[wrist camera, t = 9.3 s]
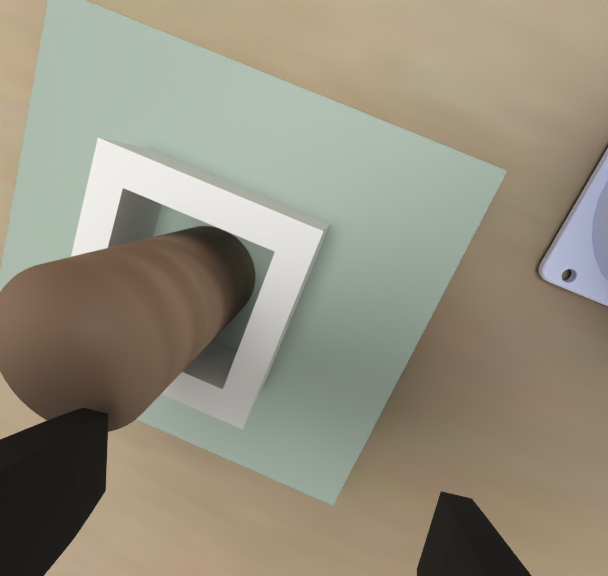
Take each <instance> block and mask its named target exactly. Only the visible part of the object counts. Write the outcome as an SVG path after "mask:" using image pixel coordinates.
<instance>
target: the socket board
mask: <svg viewBox="0 0 608 576" xmlns="http://www.w3.org/2000/svg"><path fill="white" fill-rule="evenodd" d="M506 173H507V171H506V170H504V169H501V168H499V167H496V166H494V165H491V164H489V163H487V162H484V161H482V160H479V159H477V158H474V157H472V156H469V155H467V154H464V153H462V152H459V151H457V150H454V149H452V148H449V147H447V146H444V145H442V144H439V143H437V142H434V141H432V140H430V139H427V138H425V137H422V136H420V135H417V134H415V133H412V132H410V131H407V130H405V129H402V128H400V127H397V126H395V125H392V124H390V123H387V122H385V121H382V120H380V119H378V118H375V117H373V116H370V115H368V114H365V113H363V112H360V111H358V110H355V109H353V108H350V107H348V106H345V105H343V104H340V103H338V102H335V101H333V100H330V99H328V98H326V97H323V96H321V95H318V94H316V93H313V92H311V91H308V90H306V89H303V88H301V87H298V86H296V85H293V84H291V83H288V82H286V81H283V80H281V79H278V78H276V77H274V76H271V75H269V74H266V73H264V72H261V71H259V70H256V69H254V68H251V67H249V66H246V65H244V64H241V63H239V62H236V61H234V60H231V59H229V58H226V57H224V56H221V55H219V54H217V53H214V52H212V51H209V50H207V49H204V48H202V47H199V46H197V45H194V44H192V43H189V42H187V41H184V40H182V39H179V38H177V37H174V36H172V35H169V34H167V33H165V32H162V31H160V30H157V29H155V28H152V27H150V26H147V25H145V24H142V23H140V22H137V21H135V20H132V19H130V18H127V17H125V16H122V15H120V14H117V13H115V12H113V11H110V10H108V9H105V8H103V7H100V6H98V5H95V4H93V3H90V2H88V1H85V0H48V2H47V7H46V13H45V19H44V25H43V30H42V36H41V42H40V47H39V53H38V59H37V64H36V70H35V76H34V82H33V87H32V93H31V99H30V104H29V110H28V116H27V122H26V127H25V133H24V139H23V144H22V150H21V156H20V162H19V167H18V173H17V179H16V184H15V190H14V196H13V202H12V207H11V213H10V219H9V224H8V230H7V236H6V242H5V247H4V253H3V259H2V264H1V270H0V292H1V290H2V289H3V287H4V286H5V285H6V284H7V283H8V282H9V281H10V280H11V279H12V278H13V277H14V276H15V275H17V274H18V273H20V272H22V271H23V270H25V269H27V268H30V267H32V266H35V265H39V264H43V263H47V262H51V261H55V260H60V259H64V258H68V257H72V256H76V255H80V254H85V253H89V252H93V251H97V250H101V249H105V248H110V247H114V246H118V245H122V244H126V243H130V242H134V241H139V240H143V239H147V238H151V237H155V236H159V235H164V234H168V233H172V232H176V231H180V230H184V229H189V228H193V227H197V226H212V227H217V228H220V229H222V230H224V231H227V232H229V233H231V234H232V235H234V236H235V237H236V238H237V239H238V240H240V242H241V243H242V244H243V245H244V246H245V248H246V249H247V250H248V252H249V254H250V256H251V258H252V261H253V264H254V268H255V286H254V290H253V293H252V295H251V298H250V299H249V301H248V303H247V304H246V305H245V306H244V307H243V309H242V310H241V311H240V312H239V313H238V314H237V315H236V316H235V317H234V318H233V319H232V320H231V321H230V322H229V323H228V324H227V325H226V326H225V327H224V328H223V329H222V331H221V332H220V333H219V334H218V335H217V336H216V337H215V338H214V339H213V340H212V341H211V342H210V343H209V344H208V345H207V346H206V347H205V348H204V349H203V350H202V352H201V353H200V354H199V355H198V356H197V357H196V358H195V359H194V360H193V361H192V362H191V363H190V364H189V365H188V366H187V367H186V368H185V369H184V370H183V371H182V372H181V374H180V375H179V376H178V377H177V378H176V379H175V380H174V381H173V382H172V383H171V384H170V385H169V386H168V387H167V388H166V389H165V390H164V391H163V392H162V393H161V395H160V396H159V397H158V398H157V399H156V400H155V401H154V402H153V403H152V404H151V405H150V406H149V407H148V408H147V409H146V410H145V411H144V412H143V413H142V414H141V415H140V416H139V417H138V418H137V420H139V421H141V422H143V423H146V424H148V425H150V426H153V427H155V428H157V429H159V430H162V431H164V432H166V433H168V434H171V435H173V436H175V437H178V438H180V439H182V440H184V441H187V442H189V443H191V444H193V445H196V446H198V447H200V448H203V449H205V450H207V451H209V452H212V453H214V454H216V455H218V456H221V457H223V458H225V459H228V460H230V461H232V462H234V463H237V464H239V465H241V466H243V467H246V468H248V469H250V470H253V471H255V472H257V473H259V474H262V475H264V476H266V477H268V478H271V479H273V480H275V481H278V482H280V483H282V484H284V485H287V486H289V487H291V488H293V489H296V490H298V491H300V492H303V493H305V494H307V495H309V496H312V497H314V498H316V499H318V500H321V501H323V502H325V503H328V504H330V505H332V506H333V505H334V503H335V501H336V499H337V497H338V495H339V493H340V491H341V489H342V488H343V486H344V484H345V482H346V480H347V478H348V476H349V474H350V472H351V470H352V468H353V466H354V464H355V463H356V461H357V459H358V457H359V455H360V453H361V451H362V449H363V447H364V445H365V443H366V441H367V440H368V438H369V436H370V434H371V432H372V430H373V428H374V426H375V424H376V422H377V420H378V418H379V416H380V415H381V413H382V411H383V409H384V407H385V405H386V403H387V401H388V399H389V397H390V395H391V393H392V392H393V390H394V388H395V386H396V384H397V382H398V380H399V378H400V376H401V374H402V372H403V370H404V368H405V367H406V365H407V363H408V361H409V359H410V357H411V355H412V353H413V351H414V349H415V347H416V345H417V344H418V342H419V340H420V338H421V336H422V334H423V332H424V330H425V328H426V326H427V324H428V322H429V320H430V319H431V317H432V315H433V313H434V311H435V309H436V307H437V305H438V303H439V301H440V299H441V297H442V296H443V294H444V292H445V290H446V288H447V286H448V284H449V282H450V280H451V278H452V276H453V274H454V272H455V271H456V269H457V267H458V265H459V263H460V261H461V259H462V257H463V255H464V253H465V251H466V249H467V248H468V246H469V244H470V242H471V240H472V238H473V236H474V234H475V232H476V230H477V228H478V226H479V224H480V223H481V221H482V219H483V217H484V215H485V213H486V211H487V209H488V207H489V205H490V203H491V201H492V199H493V198H494V196H495V194H496V192H497V190H498V188H499V186H500V184H501V182H502V180H503V178H504V176H505V175H506Z"/></svg>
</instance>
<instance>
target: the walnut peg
mask: <svg viewBox="0 0 608 576" xmlns="http://www.w3.org/2000/svg"><path fill="white" fill-rule="evenodd" d="M254 286H255V268H254V264H253V261H252V258H251V256H250V254H249V252H248V250H247V249H246V248H245V246H244V245H243V244H242V243H241V242H240V240H238V239H237V238H236V237H235V236H234V235H232V234H231V233H229V232H227V231H224V230H222V229H220V228H217V227H212V226H197V227H193V228H189V229H184V230H180V231H176V232H172V233H168V234H164V235H159V236H155V237H151V238H147V239H143V240H139V241H134V242H130V243H126V244H122V245H118V246H114V247H110V248H105V249H101V250H97V251H93V252H89V253H85V254H80V255H76V256H72V257H68V258H64V259H60V260H55V261H51V262H47V263H43V264H39V265H35V266H32V267H30V268H27V269H25V270H23V271H22V272H20V273H18V274H17V275H15V276H14V277H13V278H12V279H11V280H10V281H9V282H8V283H7V284H6V285H5V286H4V287H3V289H2V290H1V292H0V371H1V373H2V375H3V377H4V379H5V380H6V382H7V383H8V385H9V386H10V388H11V389H12V390H13V392H14V393H15V394H16V395H17V396H18V397H19V399H20V400H21V401H22V402H23V403H24V404H26V405H27V406H28V407H29V408H30V409H31V410H33V411H34V412H35V413H36V414H38V415H39V416H41V417H43V418H44V419H46V420H50V419H53V418H55V417H58V416H60V415H63V414H66V413H68V412H71V411H74V410H77V409H80V408H87V409H91V410H96V411H100V412H104V413H108V414H109V415H108V432H109V431H113V430H116V429H119V428H122V427H124V426H126V425H128V424H129V423H131V422H133V421H134V420H136V419H137V418H138V417H139V416H140V415H141V414H142V413H143V412H144V411H145V410H146V409H147V408H148V407H149V406H150V405H151V404H152V403H153V402H154V401H155V400H156V399H157V398H158V397H159V396H160V395H161V393H162V392H163V391H164V390H165V389H166V388H167V387H168V386H169V385H170V384H171V383H172V382H173V381H174V380H175V379H176V378H177V377H178V376H179V375H180V374H181V372H182V371H183V370H184V369H185V368H186V367H187V366H188V365H189V364H190V363H191V362H192V361H193V360H194V359H195V358H196V357H197V356H198V355H199V354H200V353H201V352H202V350H203V349H204V348H205V347H206V346H207V345H208V344H209V343H210V342H211V341H212V340H213V339H214V338H215V337H216V336H217V335H218V334H219V333H220V332H221V331H222V329H223V328H224V327H225V326H226V325H227V324H228V323H229V322H230V321H231V320H232V319H233V318H234V317H235V316H236V315H237V314H238V313H239V312H240V311H241V310H242V309H243V307H244V306H245V305H246V304H247V303H248V301H249V299H250V298H251V295H252V293H253V290H254Z"/></svg>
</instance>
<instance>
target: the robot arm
mask: <svg viewBox="0 0 608 576" xmlns="http://www.w3.org/2000/svg"><path fill="white" fill-rule="evenodd" d="M567 269H570V270H571V276H570V277H569V278H568V279H567V280H562V277H561V276H562V273H563V272H564V271H565V270H567ZM539 275H540V276H541V278H542V279H544V280H545V281H547V282H550V283H552V284H555V285H557V286H559V287H562V288H564V289H567V290H569V291H572V292H574V293H576V294H579V295H581V296H584V297H586V298H589V299H591V300H593V301H596V302H598V303H601V304H603V305H606V306H608V148H607V150H606V152H605V153H604V155H603V157H602V159H601V160H600V162H599V164H598V165H597V167H596V169H595V171H594V172H593V174H592V176H591V177H590V179H589V181H588V183H587V184H586V186H585V188H584V190H583V191H582V193H581V195H580V196H579V198H578V200H577V202H576V203H575V205H574V207H573V208H572V210H571V212H570V214H569V215H568V217H567V219H566V220H565V222H564V224H563V226H562V227H561V229H560V231H559V232H558V234H557V236H556V238H555V239H554V241H553V243H552V244H551V246H550V248H549V250H548V251H547V253H546V255H545V257H544V258H543V260H542V262H541V263H540V266H539ZM108 415H109V414H108V413H104V412H100V411H96V410H91V409H87V408H80V409H77V410H74V411H71V412H68V413H66V414H63V415H60V416H58V417H55V418H53V419H50V420H48V421H45V422H43V423H40V424H38V425H35V426H33V427H30V428H28V429H25V430H23V431H20V432H18V433H15V434H13V435H10V436H8V437H6V438H3V439H1V440H0V576H44V575H45V573H46V572H47V571H48V570H49V569H50V567H51V566H52V565H53V564H54V563H55V561H56V560H57V559H58V558H59V556H60V555H61V554H62V553H63V552H64V550H65V549H66V548H67V547H68V545H69V544H70V543H71V542H72V540H73V539H74V538H75V536H76V535H77V533H78V532H79V530H80V529H81V527H82V526H83V524H84V523H85V522H86V520H87V519H88V517H89V516H90V514H91V513H92V511H93V509H94V508H95V506H96V505H97V503H98V502H99V500H100V499H101V497H102V495H103V494H104V492H105V489H106V464H107V440H108ZM417 576H531V575H530V573H529V572H528V571H527V569H526V568H525V567H524V566H523V564H522V563H521V562H520V560H519V559H518V558H517V556H516V555H515V554H514V553H513V551H512V550H511V549H510V547H509V546H508V545H507V543H506V542H505V541H504V540H503V538H502V537H501V536H500V534H499V533H498V532H497V530H496V529H495V528H494V526H493V525H492V524H491V523H490V521H489V520H488V519H487V517H486V516H485V515H484V513H483V512H482V511H481V510H480V508H479V507H478V506H477V505H476V503H475V502H474V501H473V500H472V499H471V498H467V497H462V496H458V495H454V494H450V493H445V492H441V493H440V496H439V499H438V503H437V506H436V509H435V512H434V516H433V519H432V522H431V525H430V529H429V532H428V535H427V538H426V542H425V545H424V548H423V551H422V555H421V558H420V561H419V564H418V568H417Z"/></svg>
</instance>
